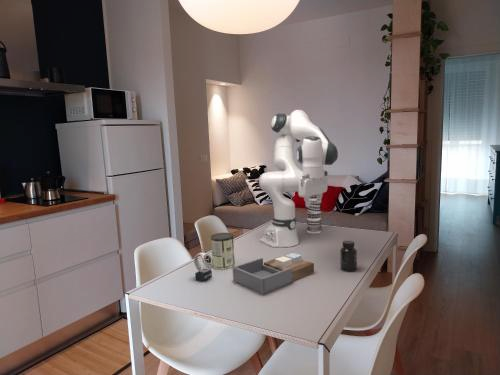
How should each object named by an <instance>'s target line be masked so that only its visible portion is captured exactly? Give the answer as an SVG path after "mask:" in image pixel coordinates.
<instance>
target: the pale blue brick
mask: <svg viewBox="0 0 500 375" xmlns="http://www.w3.org/2000/svg"><path fill="white" fill-rule="evenodd" d="M285 255H286V256H285ZM285 255H284V256H285V257H287V258H291V259H292V264H295V263H298V262H301V261H302V260H303V258H302V254H298V253H295V252H291V253H289V254H285Z"/></svg>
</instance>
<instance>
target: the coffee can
mask: <svg viewBox="0 0 500 375" xmlns="http://www.w3.org/2000/svg"><path fill="white" fill-rule="evenodd" d="M210 242H211V243H210V244H211V257H212V260H213V262H212V268H213V269H215V270H228V269H233V267H235V265H236V264H235V262H236V261H235V247H234V245H235V244H234V234H233V233H231V232H218V233H214V234H212V235H210Z"/></svg>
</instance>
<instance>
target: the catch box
mask: <svg viewBox="0 0 500 375" xmlns="http://www.w3.org/2000/svg"><path fill="white" fill-rule="evenodd" d="M232 282H233V283H236V284H238V285H240V286H243V287H245V288H247V289H249V290H250V291H253V292H255V293H258V294H260V295H262V296H264V295H266V294H268V293H271V292H273V291H276V290H278V289H281V288H283V287H286V286H288V285H292V284H293V282H294V281H293V275H292V268H288V269H285V270H282V271H279V270H277V269H274V268H271V267H269V266H266V265H264V258H263V257H260V258H257V259H253V260H250V261H247V262H245V263H242V264H238V265H236V266H235V265H234V266H233V267H232Z"/></svg>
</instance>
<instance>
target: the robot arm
mask: <svg viewBox="0 0 500 375" xmlns="http://www.w3.org/2000/svg"><path fill="white" fill-rule="evenodd" d="M270 124H271V125H270V128H271V130H272V131H273V132H274V133H276V134H280V135H279V136H278V137H276V141H275V144H274V150H273V151H274V152H273V153H274V154H273V164H274V166H275V168H277V169H278V171H276V170H275V171H267V172H264V173H262V174H261V175H260V177H259V179H258V185H259V188H260V189H261V190H262V191H263V192H264V193H266V194H267V195H268V197H269V198H270V199H271V202H272V206H273V216H274V217H272V218H271V220H270V221H272V223H271V224H270V225H269V226H268V227H266V228H265V229H264V232H263V236H262V237H261V238H260V239H259V242H261V243H264V244H265V245H268V246H270V247H272V248H279V247H280V248H290V247H295V246H298V245H299V243H300V242H299V237H298V232H297V217H296V204H295V202H294V201H293V200H292V199H290V198H288V197H286V196H285V195H284V194H283V193H295V192H297V193H298V197H300V198H303V200H304V202H305V208H306V207H310V206H311V202H310V200H309V199H310V196H313V195H318V196H317V199H316V203H321V204H322V198H323V194H324V193H326V192H327V191H328V186H329V185H328V182H329V181H328V176H329V172H328V170H325V169H324V165H325V166H332V165H333V164H334V163H336V161H337V160H338V157H339V153H338V152H339V151H338V147H337V146H336V145H335V144H334V142H332V141H331V140H330V139H329V138H328V135H326V133H325V132H324V131H323V129H321V128H320V127H319V126H317V125H316V124H314V123H313V122H311V120H310V117H309V116H308V114H307V113H306V112H305V111H304V110H302V109H295V110H293V111H291V113H290V114H289V115H288V114H286V113H276V114H275V115H274V116H273V117H272V119H271V122H270ZM301 141H302V144H300V145H299V146H298V147H297V148H296V160H295V143H300V142H301ZM296 161H297V163H299V165H302V169H300V168H299V167H298V166H297V164H296Z"/></svg>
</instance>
